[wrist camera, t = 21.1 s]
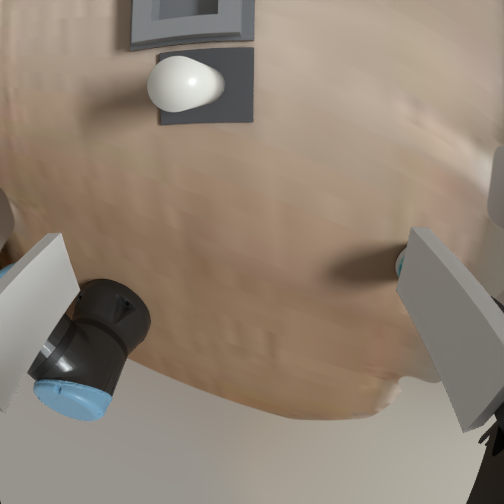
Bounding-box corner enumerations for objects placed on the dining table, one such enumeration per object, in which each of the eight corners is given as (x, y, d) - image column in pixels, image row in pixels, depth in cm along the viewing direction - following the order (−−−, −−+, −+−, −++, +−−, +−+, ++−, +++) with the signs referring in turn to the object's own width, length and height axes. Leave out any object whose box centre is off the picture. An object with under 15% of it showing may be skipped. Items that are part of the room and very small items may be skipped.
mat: (162, 124, 37) (161, 125, 37) (160, 53, 32) (159, 53, 32) (252, 121, 37) (252, 122, 36) (254, 48, 32) (253, 47, 31)
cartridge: (186, 104, 35) (148, 114, 23) (185, 68, 33) (146, 59, 21) (225, 103, 35) (205, 110, 23) (225, 66, 33) (204, 53, 21)
